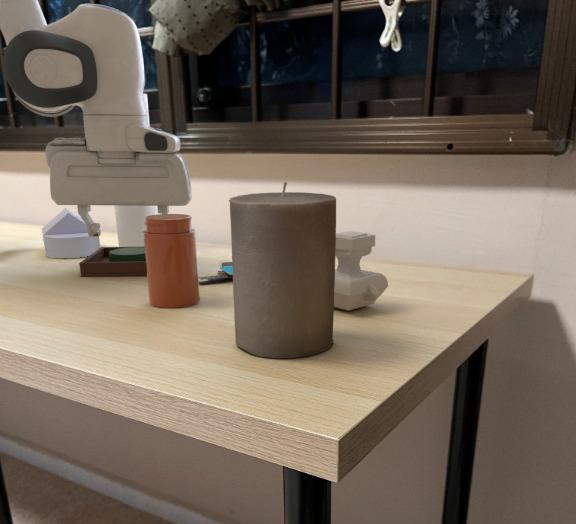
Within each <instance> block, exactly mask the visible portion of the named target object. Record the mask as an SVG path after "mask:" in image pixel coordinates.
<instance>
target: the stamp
mask: <svg viewBox="0 0 576 524" xmlns="http://www.w3.org/2000/svg"><path fill="white" fill-rule="evenodd" d="M373 247H376V234H373V233H367V232H361V231H360V232H359V231H352V230H347V231H343V232H338V233H337V232H336V249H335V258H336V259H337V267H336V268H335V287H334V309H335V308H336V309H340V310H342V311H343V310H344V311H347V312H350V311H353V310H357V309H360V308H364V307H367V306H370V305H374V304H375V302H376V301H377V300H378V299H379V298H380V296H382V295H383V293H384V292H385V291H386V289H387V288H389V281H388V278H387V277H386V276H385V275H384V274H382V273H378V272H375V271H374V272H373V271H369V270H364V269H361V265H360V264H361V259H362V257H366V256H368V255H370V254H371V253H372V252H373V251H372V250H373Z"/></svg>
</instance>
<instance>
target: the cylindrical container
mask: <svg viewBox="0 0 576 524" xmlns="http://www.w3.org/2000/svg"><path fill="white" fill-rule="evenodd" d="M143 100H144V105H145V108H146V111H147V117H148V125H149V127H151V125H150V115H149V113H150V112H149V103H148V102H149V101H148V94H147V93H143ZM113 207H114V213H115V223H116V232H117V241H118V247H143V246H144V238H143V231H145V230H146V225H145V217H147V216H151V215H158V207H157V206H123V205H113Z"/></svg>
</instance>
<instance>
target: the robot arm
mask: <svg viewBox="0 0 576 524" xmlns="http://www.w3.org/2000/svg"><path fill="white" fill-rule="evenodd" d="M0 31H1V34H2V36H3V39H4V43H5V46H6V47H5V50H4V53H3V59H2V67H3V72H4V77H5V78H6V81H7V83H8V85H9V87H10V88H11V91H12V92H13V94H14V96H15V98H16V99H17V100H18V101H19V102H20V103H21V105H23V106H24V108H26V109H28V110H29V111H30V112H32V113H34V114H36V115H39V116H43V117H46V118H47V117H48V118H49V117H50V118H52V117H53V118H55V117H60V116H62V115H65V114H67V113H68V112H71V110H72V109H73V108H75V107H76V106H77V107H79V108H81V111H82V119H83V127H84V137H59V136H58V137H55V138H54V139H53V140H51V141H49V142H48V143H47V144H46V146H45V159H46V163H47V166H48V167H49V191H50V192H49V193H50V198H51V200H52V201H53V202H54V203H55V204H56V205H57V206H76V209H77V213H78V214H77V215H78V216H79V217H81V218H82V219H83V221H84V222H85V224H86V225H87V227H88V235H89V236H90V237H92V236H93V237H95V236H99V237H101V234H102V233H101V232H102V231H101V223H99V222H95V221H94V220H93V218H92V217H91V215H90V212H91V211H92V207H91V206H114V205H123V206H156V207H157V214H170V207H185V206H187V205H189V204H190V202H191V200H192V198H193V193H192V183H191V176H190V171H189V167H188V164H187V161H186V159H185V157H184V156H183V155H182V154H181V153H179V151H180V150H181V145H182V143H181V139H180V138H179V136H177V135H175V134H172V133H169V132H166V131H163V130H162V129H161V128H158V127H151V126H150V127H149V125H148V117H147V111H146V108H145V105H144V100H143V94H144V91H145V85H146V75H145V65H144V55H143V49H142V41H141V38H140V33H139V30H138V27H137V25H136V23H135V22H134V20H133V19H132V18H131V17H130V16H129V15H128V14H126V13H125V12H124V11H121V10H119V9H116V8H113V7H111V6H107V5H104V4H98V3H89V2H88V3H87V2H86V3H81V4H79V5H78V6H77V7H76V8H75V9H74V10H73V11H71V12H70V13H68V14H67V15H65V16H64V17H62V18H59V19H58V20H56V21H54V22H51V23H47V20H46V18H45V16H44V13H43V11H42V8H41V5H40V3H39V0H0Z"/></svg>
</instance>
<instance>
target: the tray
mask: <svg viewBox="0 0 576 524" xmlns="http://www.w3.org/2000/svg"><path fill="white" fill-rule="evenodd" d="M120 248H131V247H119V246H100V248H99V249H98V250H97V251H95V252H94V253H93V254H91V255H90V256H88V257H85V258H84V259H83V260H82V261H80V262H79V263H78V264H79V265H78V266H79V272H80V277H81V278H90V277H91V278H93V277H96V278H97V277H101V278H102V277H147V270H146V261H136V262H110V260H109V252H110V251H111V250H115V249H120ZM141 248H144V246H143V247H141Z"/></svg>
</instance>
